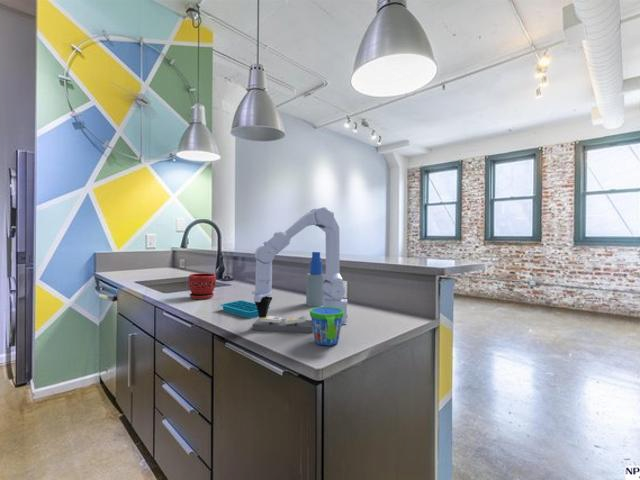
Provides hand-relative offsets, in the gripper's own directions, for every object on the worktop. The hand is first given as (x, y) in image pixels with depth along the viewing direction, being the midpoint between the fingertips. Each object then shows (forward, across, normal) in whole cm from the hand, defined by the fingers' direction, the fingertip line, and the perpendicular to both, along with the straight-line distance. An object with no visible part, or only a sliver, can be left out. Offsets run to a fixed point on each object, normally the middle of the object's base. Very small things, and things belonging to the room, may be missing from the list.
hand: (262, 317), depth 112 cm
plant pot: (+4, -45, -45) cm, 64 cm away
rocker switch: (0, 0, +12) cm, 12 cm away
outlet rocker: (0, 0, +3) cm, 3 cm away
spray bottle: (+3, -40, +14) cm, 42 cm away
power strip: (+4, -2, +8) cm, 9 cm away
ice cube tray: (+4, -21, -14) cm, 26 cm away
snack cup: (+4, +10, +24) cm, 26 cm away
